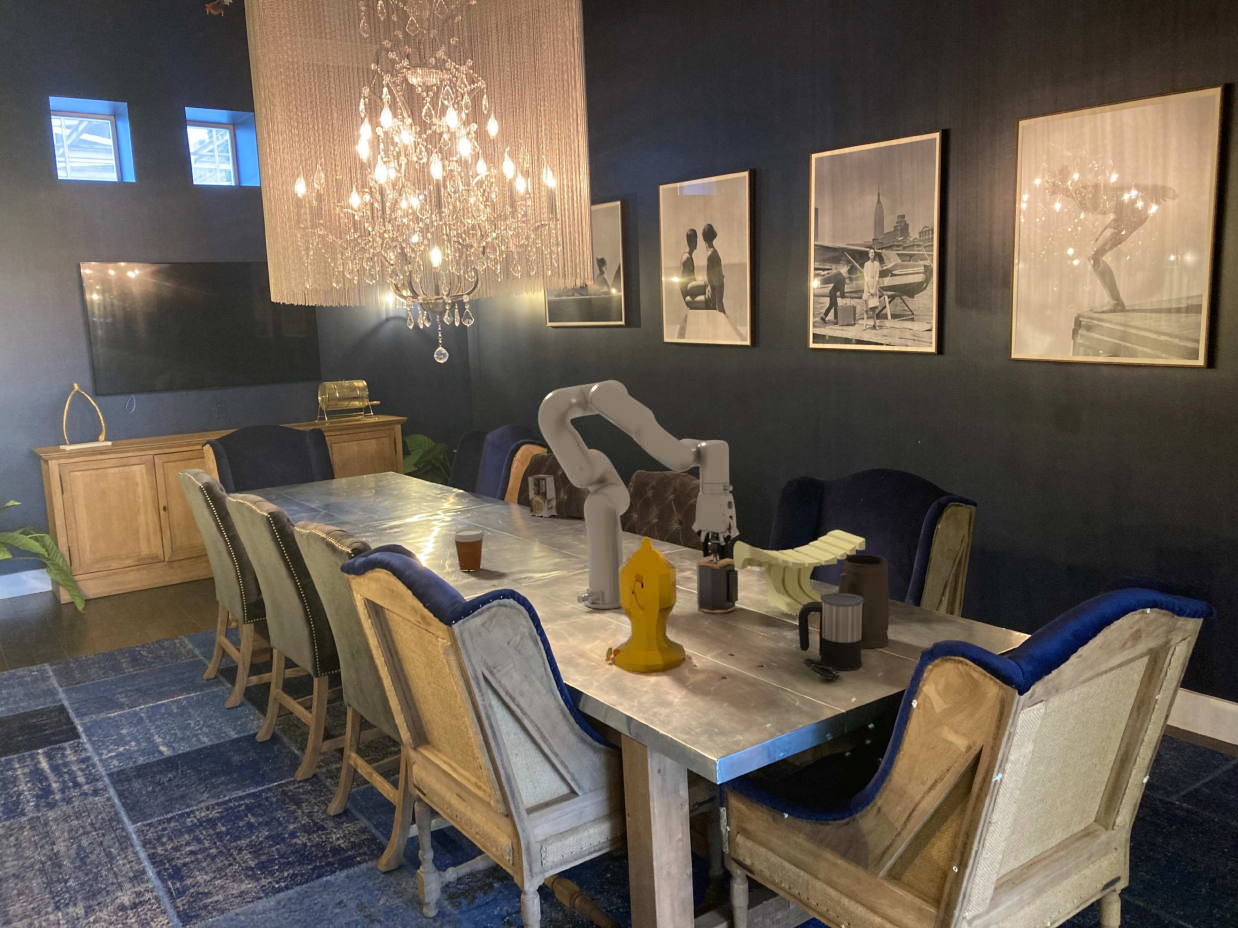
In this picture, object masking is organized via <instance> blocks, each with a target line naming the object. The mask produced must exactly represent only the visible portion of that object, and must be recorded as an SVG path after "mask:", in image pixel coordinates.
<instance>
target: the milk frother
mask: <svg viewBox="0 0 1238 928" xmlns="http://www.w3.org/2000/svg"><path fill="white" fill-rule="evenodd" d="M820 596H821V597H820V599H821V600H822V602H809V603H807V604H805V605H804V606H803V607H802V608H801V610H800V612H799V615H797V616H798V621H797V622H798V634H799V635H798V636H799V637H798V638H799V648H800V650H801V651H803V652H807V651H808V650H809V648H810V630H809V629H810V628H809V616H810V614H813V613H812V612H815V613H819V627H818V628H819V629H818V630H819V631H818V632H819V633H818V634H819V639H818V641H819V649H818V655H819V656H820V657H819V660H817V659H813V658H809V657H806V658H804V660H803V664H804V665H805V667H807V668H808V669H809V670H811V671H812V672H814V673H815V674H817V675H819V676H820V677H822V678H824V679H825V680H828V679H831V680H836V679H839V677H840V673H839V671H854V670H857V669H860V668H861V667H862V666H863V664H864V663H863V661H862V648H861V632H862V605H863V603H864V601H865V600H864V599H863V598H862V597H861V596H858V595H854V594H848V593H838V592H831V593H830V592H829V593H825V594H822V595H820Z"/></svg>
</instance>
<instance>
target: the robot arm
mask: <svg viewBox="0 0 1238 928" xmlns="http://www.w3.org/2000/svg"><path fill="white" fill-rule="evenodd" d="M598 414H599V415H600V416H602V417H603V418H605V419H606V420H607V421H609V422H610V423H612V424H613V425H614V426H615V427H617V428H619V429H620V430H621V431H623V432H624V433H626V434H627V435H629V436H630V437H631V438H632V439H633V440H634V441H635V442H636V443H637V444H638V445H639V446H640V447H641V449H642V450H644V451H645V452H646V453H647V454H649V456H651V457H652V458H654V459H655V460H656V461H658V462H659V463H661V465H664V466H665V467H666V468H668V469H670V470H671V471H674V472H679V473H681V472H686V471H688V470H690V469H691V468H694V467H699V492H698V495H697V499H696V508H695V521H694V523H693V524H692V526H691V528H692V530H693V531H694V532H695V533H696V534H697V536H698V537H699V538H700V539H699V540H700V542H701V543H702V557H703V558H709V557H712V556H713V553H710V552H708V542H709V541H713V540H712V539H711V536H712V533H716V534H718V537H719V538H718V539H719V541H720V543H721V544H720V545H719V553H718V557H719V559H720V560H723V559H729V544H730V543H731V541H733V539H734V538H736V537H737V536H738V535H739V534H740V532H739V530H738V528H737V518H736V507H735V501H734V497H733V493H730V492H731V491H733V485H731V484H730V453H729V452H730V448H729V444H728V443H727V441H725V440H719V439H711V440H701V439H696V438H695V439H693V438H683V439H680V440H679V439H678V438H676V437H674V436H673V435H672V434H671V433H669V432H668V431H666V430H665V429H664V428H663V427H662V426H661V425H660V424H659V423H658V421H657V420H656V418H655V415H654V413H653V412H652V410H651V409H649V408H648V407H647V406H646V405H644V404H643V403H641V402H640V401H638V400H636V399H635V398H634V397H632V396H631V395H630V394H629V392H628V389H627V388H626V386H625V385H624V384H623V383H622V382H620V381H618V380H614V379H609V380H605V381H600V382H594V383H588V384H580V385H573V386H568V387H561V388H558V389H554V390H553V391H552V392H549V394H548V395H546V397H544V399H543V400H542V402H541V404H540V405H539V409H538V414H537V418H538V419H537V422H538V426H539V430H540V432H541V434H542V437H543V438H544V440H545V441H546V444H548V446H549V448H550V449H551V451H552V452H553V454H554V456H555V458H556V460H557V462H558V463H559V465H560V466H561V469H562V470H563V471H564V473H565V475H566V477H567V478H568V480H569V482H570V483H571V484H572V485H573V486H574V487H576V488H577V489H578V488H579V489H588V490H589V491H590V493H589V494H588V496H587V497H586V499H585V502H584V505H583V515H584V522H585V527H586V538H587V539H586V542H587V565H588V566H587V567H588V569H587V570H588V588H586V592H585V593H584V594H581V595H578V596H577V598H576V600H577V602H578V603H579V604H581V603H583V605H585V606H586V607H588V608H591V609H600V610H611V609H619V608H622V606H621V604H620V601H619V569H618V568H619V566H620V565H621V564H622V563H623V562H624V545H623V544H624V542H623V540H624V538H623V530H622V524H621V516H622V515H623V514H625V512H627V510H629V507H630V502H631V497H630V492H629V490H628V489H627V487H626V485H625V483H624V481H623V480H622V479H621V477H620V474H618V471H617V470H616V469H615V467H614V465H613V463H612V462H611V460H610V459H609V457H608V456H607V455H606V454H604V453H603V452H602V451H600V450H598V449H592V448H590V449H589V448H588V446H587V445H586V443H585V442H584V440H583V438H582V436H581V435H580V433H579V432H578V431H577V430H576V428H574V426H573V425H572V423H571V420H572V419H576V418H579V417H580V418H581V417H584V416H590V415H591V416H592V415H598Z"/></svg>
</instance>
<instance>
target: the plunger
mask: <svg viewBox="0 0 1238 928" xmlns="http://www.w3.org/2000/svg"><path fill="white" fill-rule="evenodd" d="M720 544H721V543H720V540H712V541H709V542H708V552H710V553H712V556H713V562H718V557H719V545H720Z"/></svg>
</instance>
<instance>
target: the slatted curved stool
mask: <svg viewBox="0 0 1238 928" xmlns="http://www.w3.org/2000/svg"><path fill="white" fill-rule="evenodd" d="M857 550H858V551H863V550H866V538H863V537H862V536H857V535H855V534H852V533H849V532H845V531H843V530H840V529H834V530H831V531H829V532H827V533H826V535H823V536H821V537H818V538H817V540H814V541H811V542H809V543H808V544H806V545H803V546H802V545H801V546H800V547H799V546H798V547H795V548H793V549H792V548H791V549H785V550H778V551H777V550H768V549H767V550H766V549H761V548H759V547H754V546H751V545H749V544H748V543H745V542H743V541H740V540H737V541H735V543H734V545H733V553H732V554H733V560H734V565H735V568H737V569H739V570H740V571H741V570H744V569H747V568H748V567H749V566H750V567H751V568H752V567H753V568H754V567H761V571H762V572H763V576H764V580H765V587H766V589H765V590H766V595H765V596H766V602H767V601H768V602H770V603H772V604H774V605H776V606H777V607H779V608H781V609H782V610H785V611H787V612H789V613H790V614H792V615H794V614H799V612H800V610H801V608H802V607H803V606H804V605H805V604H807V603H809V602H822V600H821V599H820V597H821V596H822V595H820V594H818V592H816V591H815V590H814V589H813V587H812V586H811V584H810V580H811V579H810V578H811V574H812V572H813V570H814V567H820V566H821V565H822V566H827V565H834V564H838V560H844V559H845V558H847V556H848V555H849V556H854V555H857V553H856V552H857ZM768 602H767V603H768ZM777 607H776V608H777ZM782 610H781V611H782ZM790 614H789V615H790ZM792 615H791V616H792ZM794 616H795V615H794Z"/></svg>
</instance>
